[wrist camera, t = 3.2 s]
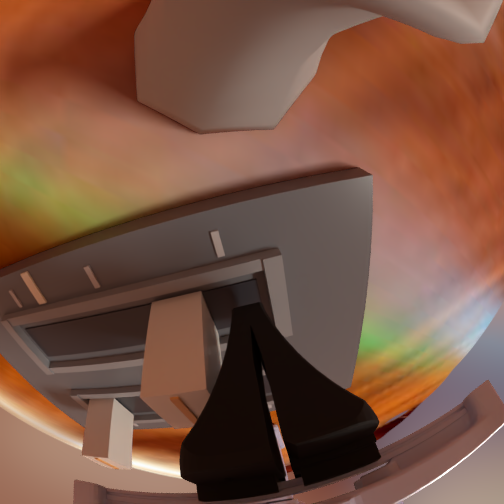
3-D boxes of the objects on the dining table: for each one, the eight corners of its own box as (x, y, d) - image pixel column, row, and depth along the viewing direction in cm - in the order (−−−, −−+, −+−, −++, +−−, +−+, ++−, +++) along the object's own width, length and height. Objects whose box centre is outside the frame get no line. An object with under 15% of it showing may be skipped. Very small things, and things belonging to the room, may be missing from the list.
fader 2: (218, 333, 14) (230, 423, 9) (175, 342, 14) (174, 430, 9) (200, 290, 12) (206, 391, 8) (151, 302, 12) (140, 399, 8)
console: (345, 376, 21) (352, 392, 20) (86, 418, 20) (84, 433, 19) (359, 167, 12) (380, 179, 10) (-35, 285, 11) (-47, 301, 9)
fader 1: (133, 415, 18) (131, 470, 13) (110, 415, 17) (106, 468, 13) (113, 398, 16) (108, 459, 12) (89, 398, 16) (81, 456, 12)
